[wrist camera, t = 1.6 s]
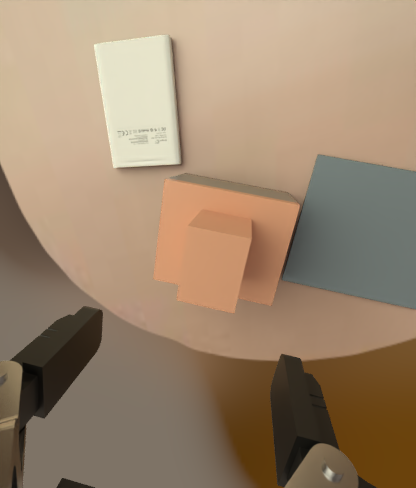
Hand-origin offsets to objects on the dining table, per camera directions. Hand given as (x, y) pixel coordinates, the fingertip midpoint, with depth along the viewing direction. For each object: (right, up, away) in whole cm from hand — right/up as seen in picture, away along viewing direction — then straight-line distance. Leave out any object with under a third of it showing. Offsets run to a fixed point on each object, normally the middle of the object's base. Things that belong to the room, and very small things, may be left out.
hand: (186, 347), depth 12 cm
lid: (+3, +5, +16) cm, 17 cm away
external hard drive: (-6, +20, +19) cm, 28 cm away
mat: (+19, +6, +19) cm, 28 cm away
